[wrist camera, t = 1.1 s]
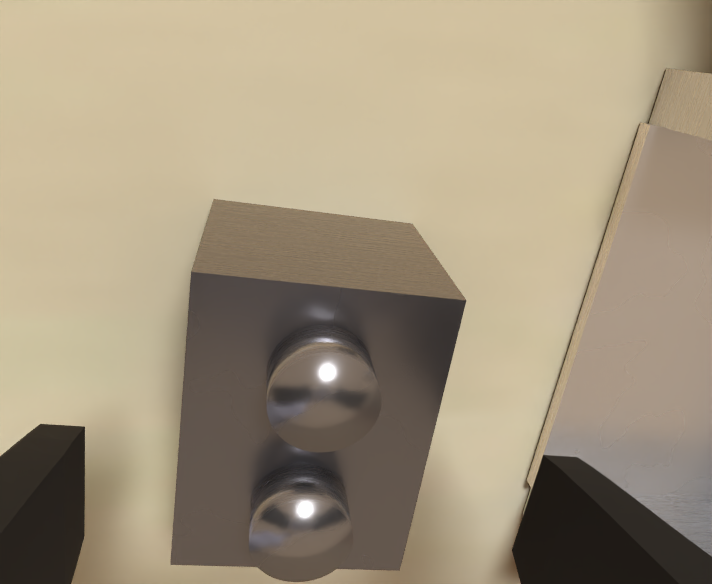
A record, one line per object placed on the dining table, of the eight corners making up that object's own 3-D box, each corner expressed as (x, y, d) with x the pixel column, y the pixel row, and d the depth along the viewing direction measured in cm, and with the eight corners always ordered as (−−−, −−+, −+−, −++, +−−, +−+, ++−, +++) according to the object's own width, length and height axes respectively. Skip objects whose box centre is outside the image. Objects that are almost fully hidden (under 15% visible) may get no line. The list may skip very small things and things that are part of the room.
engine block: (195, 426, 16) (162, 609, 11) (214, 198, 14) (183, 297, 9) (367, 437, 17) (409, 612, 12) (411, 222, 15) (485, 326, 10)
